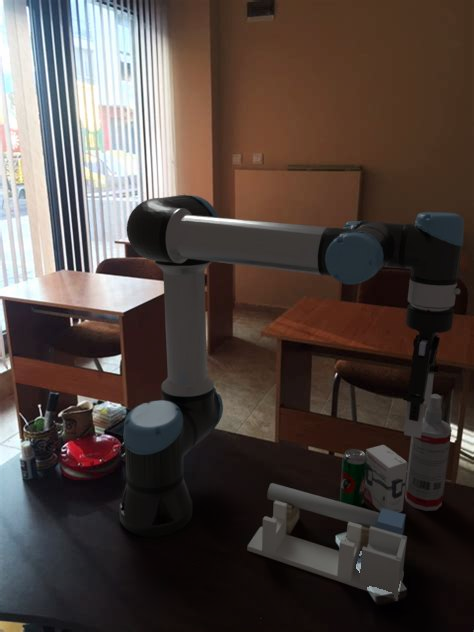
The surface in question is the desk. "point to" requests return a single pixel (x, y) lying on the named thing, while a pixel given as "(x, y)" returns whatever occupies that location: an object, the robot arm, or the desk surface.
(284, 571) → the desk surface
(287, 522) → the clamp blocks
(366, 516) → the grey rod with block
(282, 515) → the clip rail
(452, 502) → the desk surface
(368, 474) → the ink box
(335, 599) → the desk surface
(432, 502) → the white nozzle bottle
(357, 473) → the soda can
